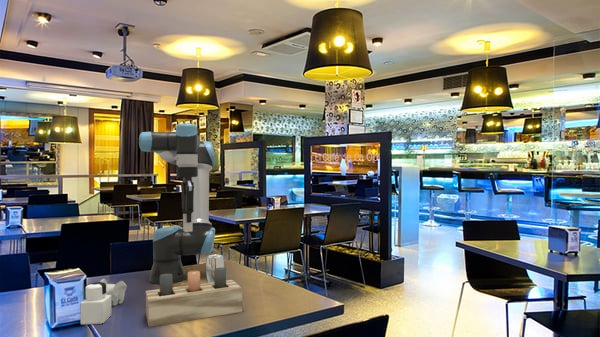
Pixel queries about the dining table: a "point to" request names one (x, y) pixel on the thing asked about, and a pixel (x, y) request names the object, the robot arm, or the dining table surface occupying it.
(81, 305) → the medicine bottle
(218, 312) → the socket block
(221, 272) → the black plug far
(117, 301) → the elephant figurine
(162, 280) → the black plug near
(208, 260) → the beer glass
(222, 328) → the dining table surface
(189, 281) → the terracotta plug
